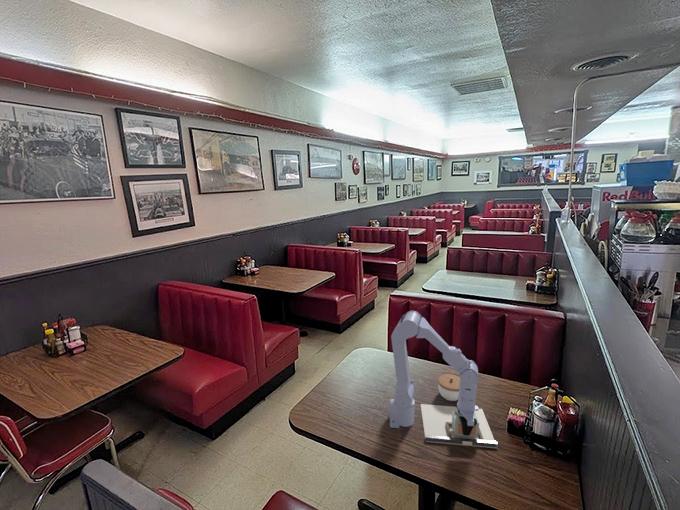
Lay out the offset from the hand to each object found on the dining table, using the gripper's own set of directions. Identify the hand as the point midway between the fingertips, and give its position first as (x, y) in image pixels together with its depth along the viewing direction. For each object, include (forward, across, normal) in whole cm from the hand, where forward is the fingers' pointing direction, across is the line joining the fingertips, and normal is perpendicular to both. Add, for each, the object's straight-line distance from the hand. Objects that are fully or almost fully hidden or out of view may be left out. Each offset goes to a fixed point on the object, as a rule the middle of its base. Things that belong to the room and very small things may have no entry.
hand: (464, 428), depth 120 cm
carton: (+1, 0, 0) cm, 1 cm away
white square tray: (+3, +5, +2) cm, 6 cm away
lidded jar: (+3, +22, +1) cm, 22 cm away
